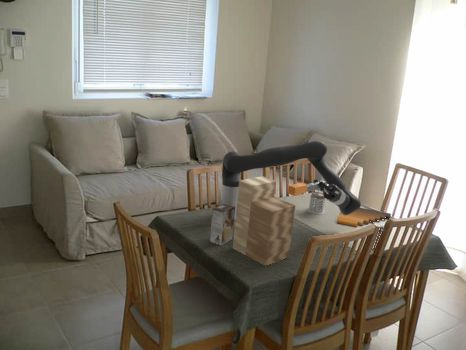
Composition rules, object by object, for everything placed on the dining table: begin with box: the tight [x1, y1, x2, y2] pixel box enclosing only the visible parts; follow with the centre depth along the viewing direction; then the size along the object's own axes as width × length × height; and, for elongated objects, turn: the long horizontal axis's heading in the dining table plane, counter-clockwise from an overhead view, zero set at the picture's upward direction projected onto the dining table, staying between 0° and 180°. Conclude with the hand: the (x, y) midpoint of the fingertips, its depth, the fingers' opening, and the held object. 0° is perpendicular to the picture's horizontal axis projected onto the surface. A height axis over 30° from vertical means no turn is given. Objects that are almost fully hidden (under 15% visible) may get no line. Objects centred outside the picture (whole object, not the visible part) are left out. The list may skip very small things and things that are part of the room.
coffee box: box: [209, 204, 235, 246], centre depth 228 cm, size 9×6×16 cm
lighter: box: [373, 225, 385, 249], centre depth 239 cm, size 8×3×10 cm, turn 117°
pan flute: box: [336, 207, 392, 228], centre depth 272 cm, size 25×3×25 cm
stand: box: [232, 175, 296, 267], centre depth 218 cm, size 14×20×31 cm
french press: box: [306, 177, 326, 215], centre depth 275 cm, size 10×12×25 cm
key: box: [287, 179, 327, 197], centre depth 224 cm, size 22×4×4 cm, turn 133°
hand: (317, 182), depth 228 cm, fingers closed on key, 2 cm apart
